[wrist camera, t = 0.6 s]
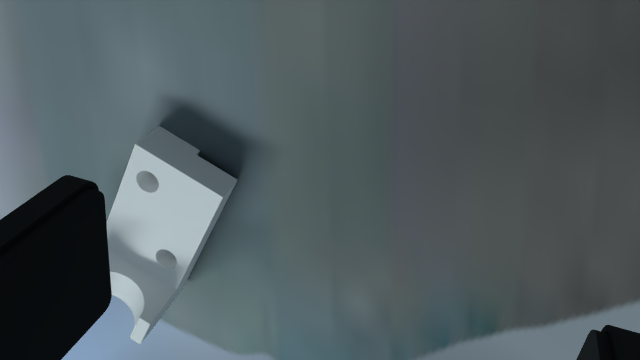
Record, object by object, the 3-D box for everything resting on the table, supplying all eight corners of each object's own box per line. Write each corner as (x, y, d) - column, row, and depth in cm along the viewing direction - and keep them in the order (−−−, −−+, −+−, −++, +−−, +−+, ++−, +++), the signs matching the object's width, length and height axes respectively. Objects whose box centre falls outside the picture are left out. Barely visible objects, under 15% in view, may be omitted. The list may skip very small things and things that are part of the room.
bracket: (186, 283, 52) (140, 344, 45) (116, 240, 52) (59, 295, 45) (242, 173, 45) (196, 228, 38) (160, 124, 45) (101, 170, 38)
